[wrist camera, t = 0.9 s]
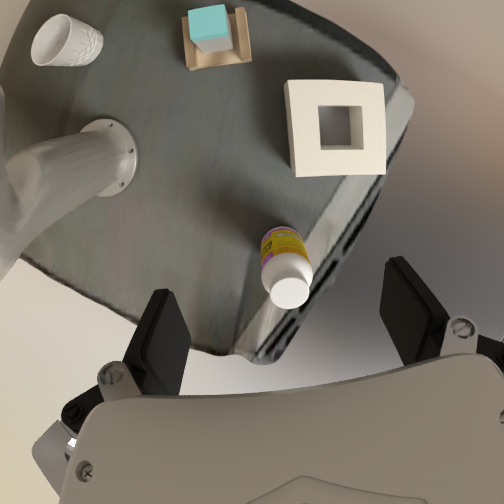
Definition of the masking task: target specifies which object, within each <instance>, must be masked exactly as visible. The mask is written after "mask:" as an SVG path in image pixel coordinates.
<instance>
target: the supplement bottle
mask: <svg viewBox="0 0 504 504" xmlns="http://www.w3.org/2000/svg"><path fill="white" fill-rule="evenodd" d="M312 277H313V273H312V268H311V265H310V262H309V259H308V256H307V252H306V249H305V246H304V243H303V240H302V238H301V236H300V234H299V233H298V232H297V231H295V230H294V229H292V228H289V227H276V228H273V229H272V230H270V231H269V232H267V233H266V234H265V236H264V237H263V239H262V242H261V278H262V283H263V286H264V288H265V289H266V290H267V292H268V293H270V298H271V300H272V302H273V303H274V304H275V305H277V306H278V307H280V308H284V309H292V308H296V307H299V306H300V305H302V304H303V303H304V302H305V301H306V300H307V298H308V296H309V286H310V284H311V282H312Z"/></svg>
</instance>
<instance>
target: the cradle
mask: <svg viewBox="0 0 504 504" xmlns="http://www.w3.org/2000/svg"><path fill="white" fill-rule="evenodd" d="M235 12H236V13H233V14H227V15H228V18H229V21H230V24H231V31H232V40H233V48H234V49H232V50H225V51H218V52H212V53H206V54H204V53H203V52H202V51H201V50H200V49H199V48H198V47H197V46H196V44H195V43H194V42H193V41H192V40H191V39H190V29H189V18H188V16H186V17H182V25H183V37H184V47H185V57H186V66H187V68H189V70H191V71H192V70H197V69H202V68H208V67H214V66H220V65H228V64H235V63H244V62H252V57H251V49H250V41H249V33H248V26H247V18H246V12H245V9H244V7H241V8H235Z"/></svg>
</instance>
